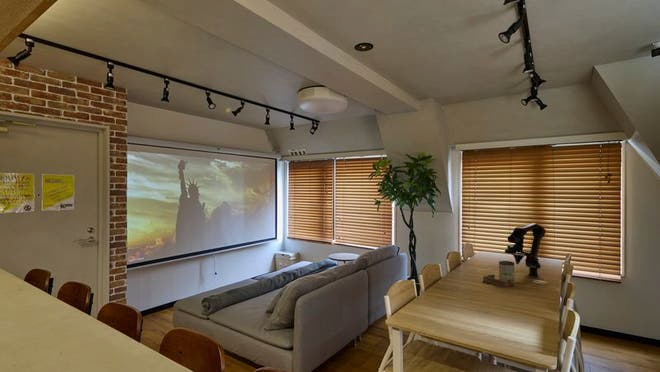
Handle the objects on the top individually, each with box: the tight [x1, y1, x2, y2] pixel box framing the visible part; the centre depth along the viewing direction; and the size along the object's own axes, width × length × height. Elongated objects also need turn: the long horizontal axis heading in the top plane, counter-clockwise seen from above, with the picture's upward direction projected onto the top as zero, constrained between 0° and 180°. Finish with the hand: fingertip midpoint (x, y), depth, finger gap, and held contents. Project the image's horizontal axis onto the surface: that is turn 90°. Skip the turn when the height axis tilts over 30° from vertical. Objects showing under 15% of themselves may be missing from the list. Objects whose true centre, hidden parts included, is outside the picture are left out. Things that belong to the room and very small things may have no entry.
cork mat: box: [531, 279, 549, 286], centre depth 234 cm, size 10×10×1 cm
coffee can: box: [498, 260, 516, 283], centre depth 239 cm, size 10×10×14 cm
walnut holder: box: [482, 273, 515, 288], centre depth 235 cm, size 11×16×4 cm
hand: (517, 264), depth 245 cm, fingers closed
